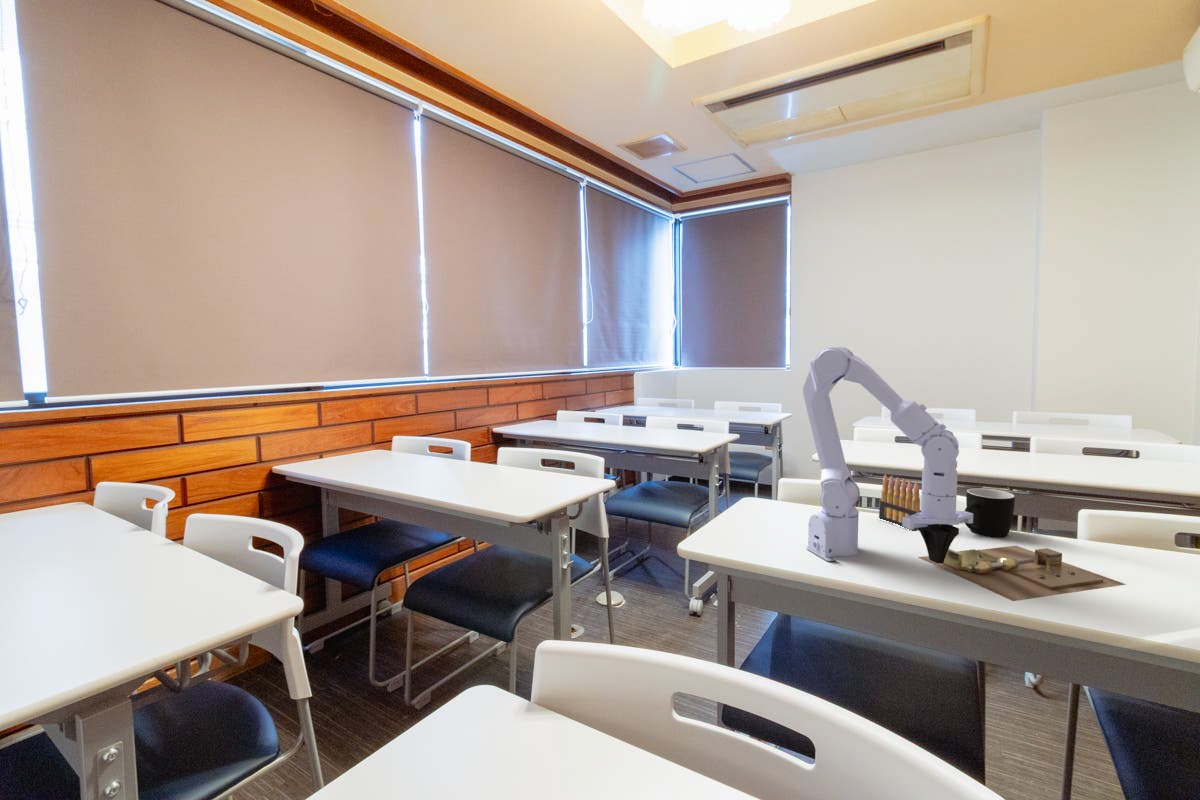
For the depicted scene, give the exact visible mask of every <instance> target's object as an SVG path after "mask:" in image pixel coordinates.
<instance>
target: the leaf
mask: <svg viewBox="0 0 1200 800" xmlns="http://www.w3.org/2000/svg"><path fill="white" fill-rule="evenodd" d="M977 550H978V549H967V550H958V551H956V550H953V549H951V548H949V549H948V551H947V554H946V557H945V560H944V562H943V563H944V564H947V565H949V566H951V567H953V568H956V569H958V570H960V569H962V570H967V571H970V572H975V573H977V574H980V573H988V572H991V571H992V570H993V569H998V568H1000V569H1001V570H1011V569H1017V568H1018V566H1019V565H1021V564H1028V563H1034V560H1033V559H1032V558H1028V559H1020V560H1016V559H1015V558H1014V557H1007V558H999V559H998V558H995V557H993V556H990V555H988V554H985V553H982V552H980V551H977Z"/></svg>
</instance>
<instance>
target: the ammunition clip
mask: <svg viewBox="0 0 1200 800" xmlns="http://www.w3.org/2000/svg"><path fill="white" fill-rule="evenodd" d="M918 483H919V482H918V481H916V482H915V483H914V486H913V483H912V480H911V479H909V481H908V483H907V482H906V480H905V478H903V479H902V480H900V478H899V477H897V476H896V480H894V477H893V475H891V476H890V477H889V479H888V476H887V474H886V473H885V474H884V475H883V479H882V489H881V496H880V497H881V500H880V501H879V510H878V511H879V512H878V513H879V514H878V519H879V518H880V519H883V520H886V521H889V522H892V523H895V524H898V525H900V526H902V518H903V517H907V516H911V515H914V514H917V513H920V512H921V499H920V486H919V484H918ZM917 531H918V532H920V531H919V530H918V528H914V529H913V530H912V531H911V532H917Z"/></svg>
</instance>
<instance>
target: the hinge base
mask: <svg viewBox="0 0 1200 800" xmlns="http://www.w3.org/2000/svg"><path fill="white" fill-rule="evenodd" d="M1034 552H1035V560H1034V564H1037V565H1038V564H1046V567H1040V568H1032V569H1024V570H1017V571H1012V574H1013V575H1015V576H1017V577H1020V578H1022V579H1025V580H1027V581H1030V582H1032V583H1035V584H1037V585H1039V586H1042V587H1044V588H1047V589H1049V590H1055V589H1062V588H1069V587H1076V586H1083V585H1090V584H1097V583H1103V579H1101V578H1098V577H1096V576H1093V575H1090V574H1087V573H1084V572H1082V571H1079V570H1076V569H1073V568H1070V567H1068V566H1065V565H1062V562H1063V553H1062V552H1059V551H1057V550H1053V549H1051V548H1046V547H1044V548H1039V549H1034Z"/></svg>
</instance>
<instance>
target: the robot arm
mask: <svg viewBox="0 0 1200 800" xmlns="http://www.w3.org/2000/svg"><path fill="white" fill-rule="evenodd" d="M841 380H843V381H847V382H851V383H855V384H858V385H861V386H862V387H863V388H864V389H865V390H866V391H868V393H870V395H872V396H873V397H874V398H875V399H876V400H877V401H879V402H880V403H881V405H883V406H884V407H885V408H886V409H888V410H889V411H890V421H891V422H892V424H894V425H895V426H896V428H898V429H899V430H900V431H901V432H902V433H903V434H904V435H905V436H906V437H907V438H908V439H909V440H910V441H911V442H912V443H913V444H915V445H918V446H919V447H921V449H920V450H921V451H920V452H921V454H922V456H923V458H924V459H923V460H924V461H923V468H922V469H921V470H922V472H921V473H922V476H921V496H920V497H921V499H920V510H921V512H920V513H917V514H914V515H911V516H907V517H903V518H902V527H904V528H907V529H909V530H908V531H910V530H913V529H914V528H918V530H919V531H918V532H919V533H920V535H921V538H923V542H924V544H925V547H926V551H927V554H928V555H927V556H929V559H930V560H931V561H933V562H936V563H943V562H944V560H945V557H946V554H947V551H948V549H950V547H951V545H952V543H953V541H954V540H955V538H957V536H958V535H960V528H959V527H957V526H959V525H960V524H965V523H969V524H970V523H973V514H972V513H969V512H966V511H965V510H958V511H957V495H958V494H957V493H958V471H957V468H958V461H957V458H958V457H959V453H960V449H959V441H958V438H957V437H956V436H955V435H954V433H953V432H952V431H951V430H948V429H946V428H947V426H946V425H945V423H941V424H940V423H939V422H938V421H937V420H936V419H935V418H933V417H932V416H931V415H930V414H929V413H928V411H926V410H927V409H928V408H927V406H926V405H925V404H924V403H920V404H918V402H917V401H915V400H905V399H903V398H902V397H901V396H900V394H898V393H897V392H896V391H895V390H894V389H893V388H892V387H891V386H890V385H889V384H888V383H887V382H886V381H885V380H884V379H883V378H882V377H881V376H880V375H879V374H878V373H877V372H876V370H874V369H873V368H872V367H871V366H870V365H869V364H868V363H866V362H865V361H864V360H863V359H862V358H861V357H859V356H857V355H854V353H853V352H852V351H851V350H850V349H848V348H847V347H842V346H841V347H840V346H837V347H834V346H830V347H826V348H823V349H821V350H820V351H819V352H818V353H817V354H816V355H815V357H814V358H813V359H812V360H811V361H810V364H809V370H808V373H807V375H806V378H805V382H804V383H803V386H802V394H803V395H802V396H803V399H804V402H805V407H806V411H807V412H806V413H807V415H808V419H809V425H810V427H811V428H810V429H811V433H812V437H813V441H814V445H815V448H816V449H815V450H816V453H817V457H818V461H819V466H820V470H821V473H820V485H821V492H820V495H819V501H820V505H821V511H820V512H819V513H815V514H813V515H811V516H810V517H809V519H808V533H807V534H808V537H807V538H808V539H807V540H808V541H807V542H808V543H807V546H805V549H806V550H808V551H810V552H812V554H815V555H816V556H818V557H820V558H821V559H823V560H825V561H827V562H835V561H837V560H836V559H835V558H834V557H849V556H854V555H856V554H858V551H859V549H858V547H859V546H858V545H859V543H858V542H859V515H860V512H859V510H858V509H857V507H856V505H855V504H856V503H857V502H858V500H859V499H860V495H861V492H860V488H859V485H858V484H857V482H856V481H854V479H853V477H852V473H851V471H850V469H849V467H848V466H847V463H846V460H845V456H844V452H843V448H842V444H841V440H840V439H841V438H840V435H839V430H838V427H837V426H838V425H837V422H836V419H835V415H834V412H833V411H834V410H833V406H832V402H831V398H830V392H832V390H833V389H834V388H835V387H836V385H837V384H838V382H839V381H841ZM956 525H957V526H956ZM904 528H903V529H904ZM907 529H906V530H907Z"/></svg>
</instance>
